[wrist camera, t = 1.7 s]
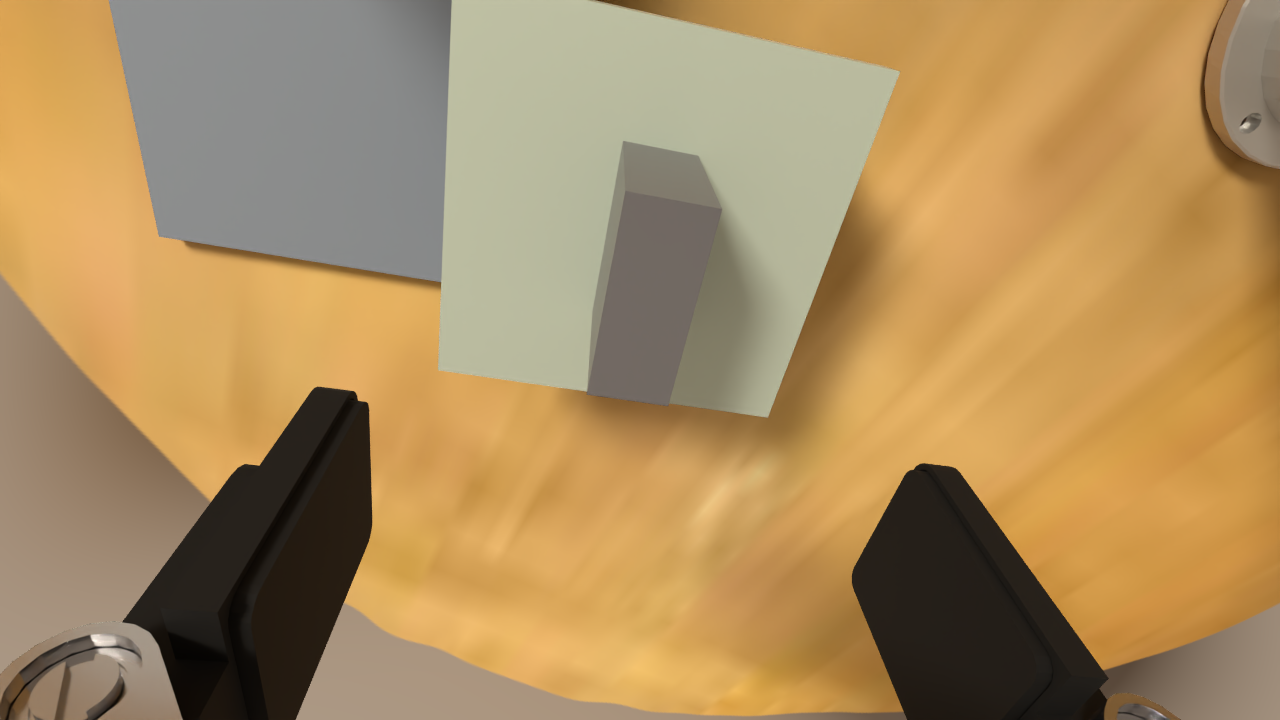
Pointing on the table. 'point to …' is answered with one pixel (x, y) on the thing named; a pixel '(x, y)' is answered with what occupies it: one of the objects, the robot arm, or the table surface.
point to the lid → (641, 199)
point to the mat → (294, 125)
